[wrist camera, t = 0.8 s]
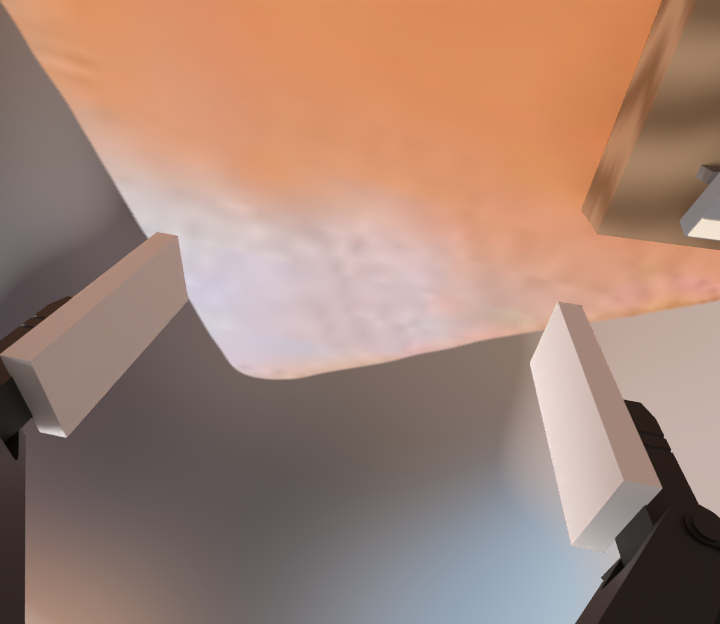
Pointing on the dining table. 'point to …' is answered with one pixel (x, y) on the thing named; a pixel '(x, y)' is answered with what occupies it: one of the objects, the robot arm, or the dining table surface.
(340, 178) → the dining table surface
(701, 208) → the block
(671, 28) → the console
